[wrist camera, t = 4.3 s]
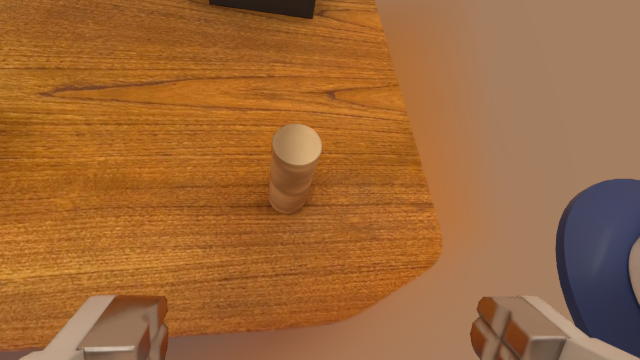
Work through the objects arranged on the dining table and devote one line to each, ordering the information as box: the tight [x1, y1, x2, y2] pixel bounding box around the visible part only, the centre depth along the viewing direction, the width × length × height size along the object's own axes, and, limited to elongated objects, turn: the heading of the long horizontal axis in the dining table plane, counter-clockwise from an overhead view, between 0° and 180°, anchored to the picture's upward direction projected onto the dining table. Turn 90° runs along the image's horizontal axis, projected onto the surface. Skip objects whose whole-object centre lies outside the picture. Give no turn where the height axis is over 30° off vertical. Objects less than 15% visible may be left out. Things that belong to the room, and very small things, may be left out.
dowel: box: [269, 124, 322, 214], centre depth 27 cm, size 4×4×9 cm
